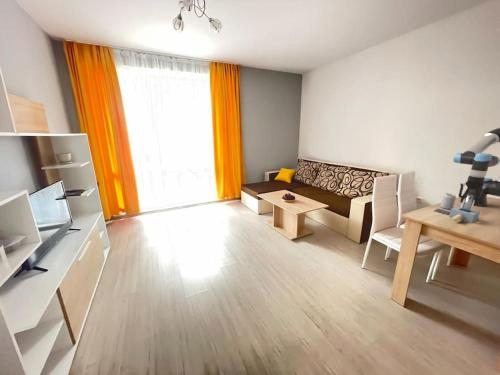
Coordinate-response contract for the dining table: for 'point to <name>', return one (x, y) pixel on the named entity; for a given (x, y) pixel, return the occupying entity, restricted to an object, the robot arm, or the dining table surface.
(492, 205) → the dining table surface
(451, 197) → the can
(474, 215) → the block
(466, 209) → the silver tall rounded piece
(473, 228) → the dining table surface
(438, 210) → the mat
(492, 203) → the dining table surface
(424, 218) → the dining table surface
